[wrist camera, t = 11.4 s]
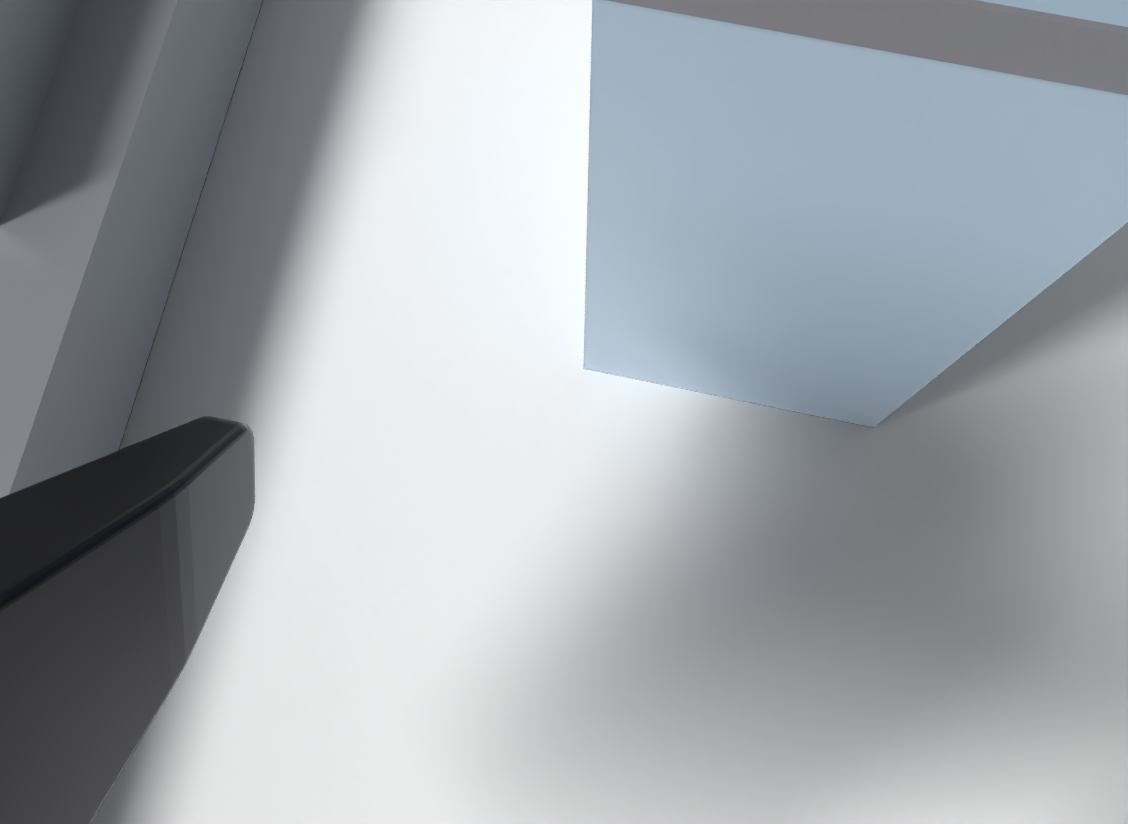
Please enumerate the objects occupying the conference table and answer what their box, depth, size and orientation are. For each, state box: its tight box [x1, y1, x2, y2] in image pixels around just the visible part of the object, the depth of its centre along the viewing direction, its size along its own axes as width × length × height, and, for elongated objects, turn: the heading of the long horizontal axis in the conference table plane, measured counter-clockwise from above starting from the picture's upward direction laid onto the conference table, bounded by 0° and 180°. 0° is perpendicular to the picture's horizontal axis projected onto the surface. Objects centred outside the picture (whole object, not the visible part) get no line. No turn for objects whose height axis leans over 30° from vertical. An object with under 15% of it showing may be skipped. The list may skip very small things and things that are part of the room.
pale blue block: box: [584, 0, 1128, 427], centre depth 12 cm, size 5×6×10 cm
